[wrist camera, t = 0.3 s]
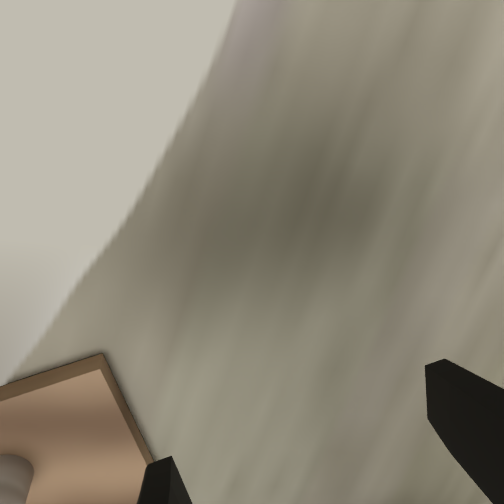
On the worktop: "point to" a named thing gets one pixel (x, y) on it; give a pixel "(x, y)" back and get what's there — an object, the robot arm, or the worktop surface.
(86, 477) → the brown rectangular board
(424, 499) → the worktop surface
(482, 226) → the worktop surface
